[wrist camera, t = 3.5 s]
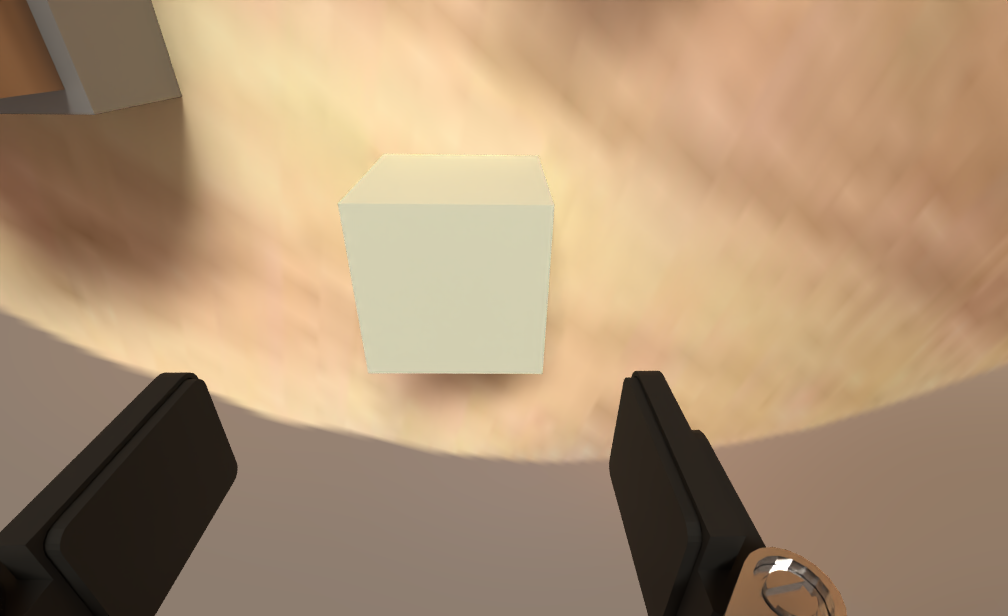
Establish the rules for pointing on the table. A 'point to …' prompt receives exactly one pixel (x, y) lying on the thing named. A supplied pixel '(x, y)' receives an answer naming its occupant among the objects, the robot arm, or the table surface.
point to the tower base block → (99, 57)
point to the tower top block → (24, 53)
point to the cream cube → (451, 262)
